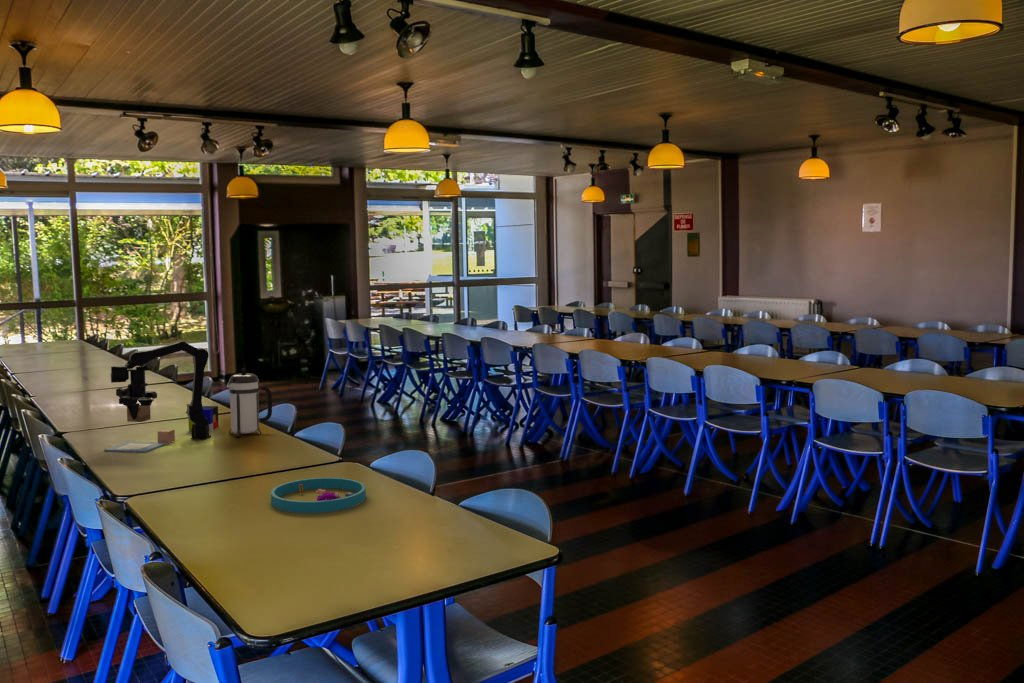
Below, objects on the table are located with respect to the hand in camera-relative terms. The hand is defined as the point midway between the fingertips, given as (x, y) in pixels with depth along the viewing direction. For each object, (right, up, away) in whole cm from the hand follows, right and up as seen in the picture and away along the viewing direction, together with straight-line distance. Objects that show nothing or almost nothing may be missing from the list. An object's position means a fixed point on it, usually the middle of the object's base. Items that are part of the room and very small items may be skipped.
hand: (139, 417), depth 351 cm
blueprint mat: (+2, -12, -7) cm, 14 cm away
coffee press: (+39, -10, +23) cm, 46 cm away
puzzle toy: (+15, -9, +34) cm, 38 cm away
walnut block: (0, -1, 0) cm, 1 cm away
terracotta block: (+9, -11, +6) cm, 15 cm away
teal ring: (+95, -20, -81) cm, 127 cm away
